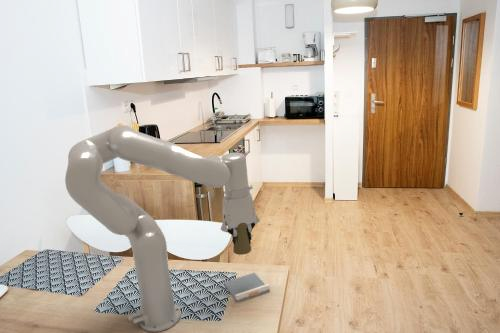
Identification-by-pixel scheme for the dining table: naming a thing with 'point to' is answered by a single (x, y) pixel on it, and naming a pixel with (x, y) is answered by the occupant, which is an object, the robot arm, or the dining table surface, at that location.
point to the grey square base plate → (246, 287)
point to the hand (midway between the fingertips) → (242, 243)
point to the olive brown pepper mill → (242, 240)
